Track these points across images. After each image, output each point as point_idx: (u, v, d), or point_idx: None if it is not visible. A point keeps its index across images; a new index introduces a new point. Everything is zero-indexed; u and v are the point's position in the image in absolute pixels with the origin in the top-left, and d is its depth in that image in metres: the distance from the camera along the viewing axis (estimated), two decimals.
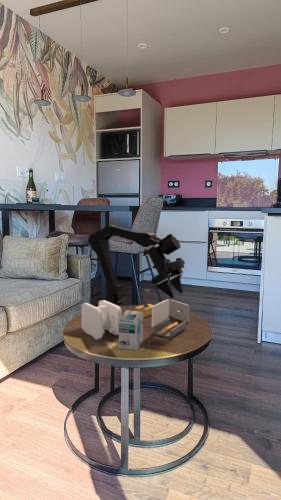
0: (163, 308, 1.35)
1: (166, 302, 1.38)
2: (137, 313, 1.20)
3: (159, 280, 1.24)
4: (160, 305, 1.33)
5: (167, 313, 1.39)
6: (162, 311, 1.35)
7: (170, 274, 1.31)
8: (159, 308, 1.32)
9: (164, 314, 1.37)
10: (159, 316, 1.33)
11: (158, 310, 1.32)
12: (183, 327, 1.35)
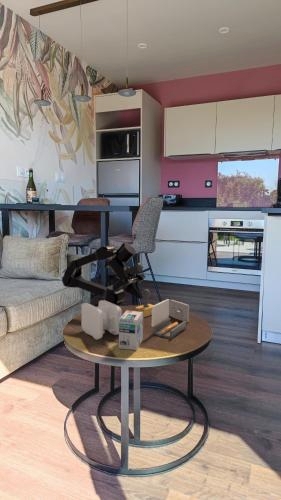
0: (163, 308, 1.35)
1: (166, 302, 1.38)
2: (137, 313, 1.20)
3: (119, 286, 1.32)
4: (160, 305, 1.33)
5: (167, 313, 1.39)
6: (162, 311, 1.35)
7: (136, 278, 1.44)
8: (159, 308, 1.32)
9: (164, 314, 1.37)
10: (159, 316, 1.33)
11: (158, 310, 1.32)
12: (183, 327, 1.35)
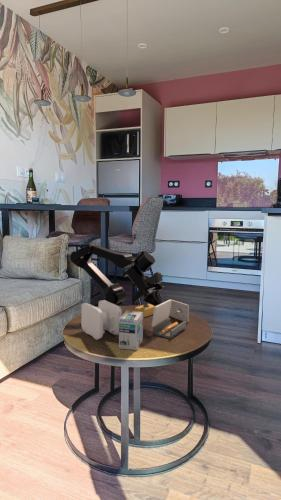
0: (164, 308, 1.35)
1: (168, 303, 1.37)
2: (137, 313, 1.20)
3: (139, 296, 1.28)
4: (162, 306, 1.32)
5: (168, 313, 1.39)
6: (163, 311, 1.35)
7: (156, 287, 1.39)
8: (161, 308, 1.32)
9: (165, 314, 1.37)
10: (160, 316, 1.33)
11: (160, 310, 1.31)
12: (183, 327, 1.35)
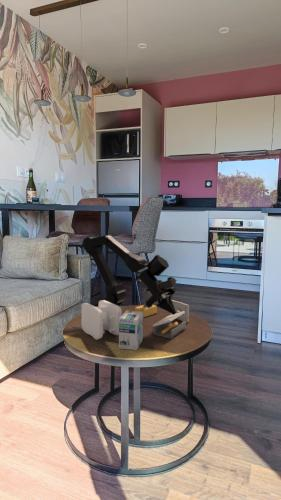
0: None
1: (180, 314, 1.35)
2: (137, 313, 1.20)
3: (153, 301, 1.25)
4: (174, 318, 1.30)
5: None
6: None
7: (169, 292, 1.37)
8: None
9: None
10: None
11: None
12: (183, 327, 1.35)
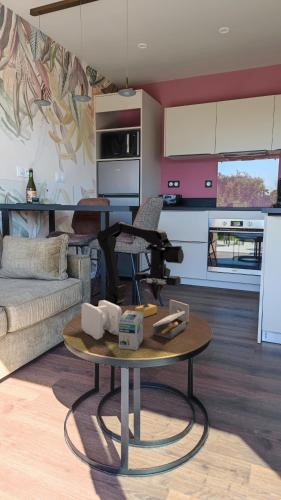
0: None
1: (180, 314, 1.35)
2: (137, 313, 1.20)
3: (178, 282, 1.30)
4: (174, 318, 1.30)
5: None
6: (170, 318, 1.33)
7: None
8: None
9: None
10: None
11: None
12: (183, 327, 1.35)
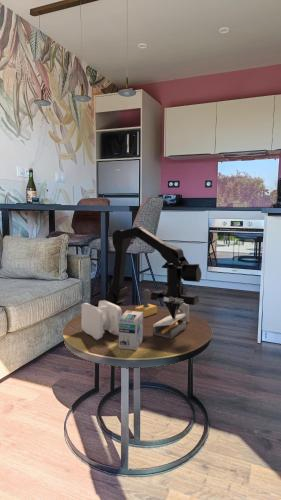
0: None
1: None
2: (137, 313, 1.20)
3: (197, 301, 1.27)
4: (175, 320, 1.30)
5: (171, 317, 1.39)
6: None
7: None
8: None
9: (169, 319, 1.36)
10: None
11: None
12: (183, 327, 1.35)
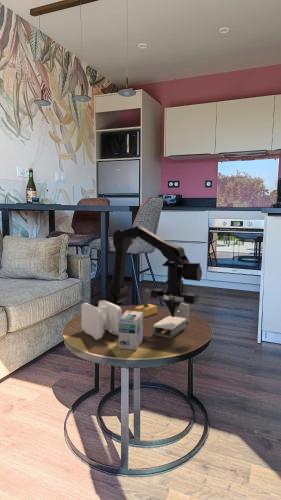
0: None
1: None
2: (137, 313, 1.20)
3: (196, 300, 1.27)
4: None
5: None
6: None
7: None
8: None
9: None
10: None
11: None
12: (183, 327, 1.35)
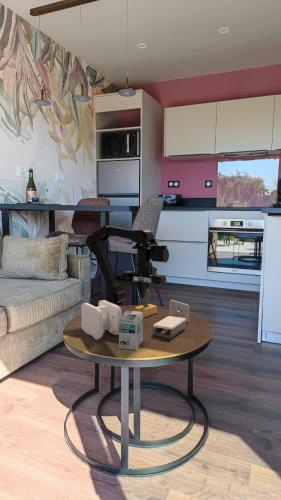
0: None
1: None
2: (137, 313, 1.20)
3: (164, 281, 1.33)
4: None
5: None
6: None
7: None
8: None
9: None
10: None
11: None
12: (183, 327, 1.35)
